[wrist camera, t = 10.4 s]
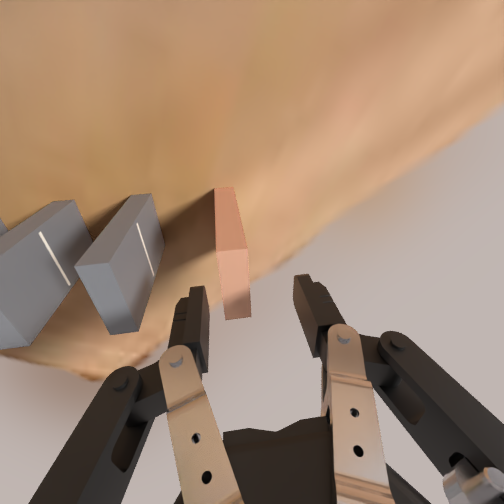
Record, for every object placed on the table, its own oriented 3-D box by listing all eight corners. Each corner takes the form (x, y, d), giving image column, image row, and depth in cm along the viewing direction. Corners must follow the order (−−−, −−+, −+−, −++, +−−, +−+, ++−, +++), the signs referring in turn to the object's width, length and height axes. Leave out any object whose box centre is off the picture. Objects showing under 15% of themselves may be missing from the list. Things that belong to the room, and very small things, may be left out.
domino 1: (74, 199, 20) (-27, 277, 11) (97, 252, 22) (30, 345, 14) (52, 201, 20) (-66, 281, 11) (79, 254, 22) (-1, 349, 14)
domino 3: (233, 186, 21) (247, 248, 13) (237, 238, 24) (251, 316, 15) (214, 188, 21) (215, 251, 12) (220, 239, 23) (225, 320, 15)
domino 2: (151, 193, 20) (109, 262, 12) (165, 245, 23) (138, 331, 15) (130, 195, 20) (73, 266, 12) (147, 247, 23) (110, 335, 15)
